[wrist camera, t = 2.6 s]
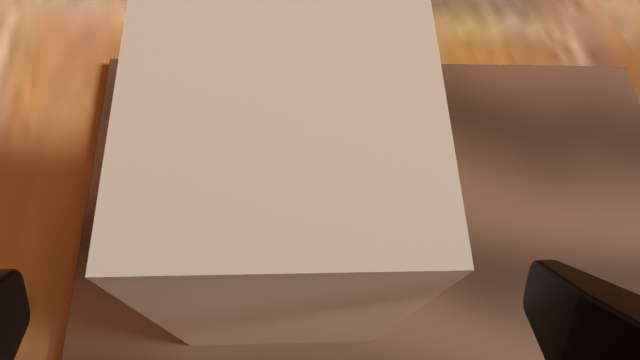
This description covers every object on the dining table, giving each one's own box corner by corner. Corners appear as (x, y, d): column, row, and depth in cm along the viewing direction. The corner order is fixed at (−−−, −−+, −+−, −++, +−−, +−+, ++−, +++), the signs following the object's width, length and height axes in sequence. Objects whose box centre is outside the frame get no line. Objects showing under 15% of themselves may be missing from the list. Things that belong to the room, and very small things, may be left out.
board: (763, 506, 17) (776, 509, 17) (37, 550, 15) (29, 554, 15) (619, 73, 25) (626, 66, 24) (113, 65, 23) (110, 58, 22)
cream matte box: (371, 340, 18) (474, 270, 9) (190, 346, 18) (85, 276, 8) (359, 178, 21) (427, -16, 11) (201, 179, 20) (131, -24, 11)
